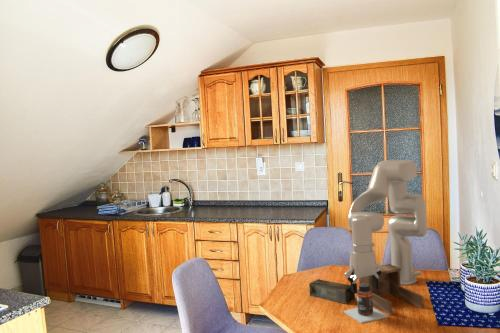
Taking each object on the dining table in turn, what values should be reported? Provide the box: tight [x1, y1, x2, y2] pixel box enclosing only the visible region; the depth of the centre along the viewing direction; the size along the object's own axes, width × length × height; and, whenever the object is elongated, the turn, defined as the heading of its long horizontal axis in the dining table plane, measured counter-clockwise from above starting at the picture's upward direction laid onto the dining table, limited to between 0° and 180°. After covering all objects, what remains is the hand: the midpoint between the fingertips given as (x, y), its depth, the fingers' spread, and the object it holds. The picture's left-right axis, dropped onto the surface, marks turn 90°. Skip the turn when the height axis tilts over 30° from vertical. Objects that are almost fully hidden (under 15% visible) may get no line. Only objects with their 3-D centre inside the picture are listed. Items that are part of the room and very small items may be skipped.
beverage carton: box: [309, 278, 356, 305], centre depth 191 cm, size 8×19×7 cm, turn 48°
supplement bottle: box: [356, 283, 374, 315], centre depth 170 cm, size 6×6×11 cm
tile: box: [343, 307, 388, 324], centre depth 171 cm, size 12×12×1 cm
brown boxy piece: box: [358, 263, 424, 316], centre depth 181 cm, size 16×20×13 cm
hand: (364, 290), depth 171 cm, fingers open, 9 cm apart
